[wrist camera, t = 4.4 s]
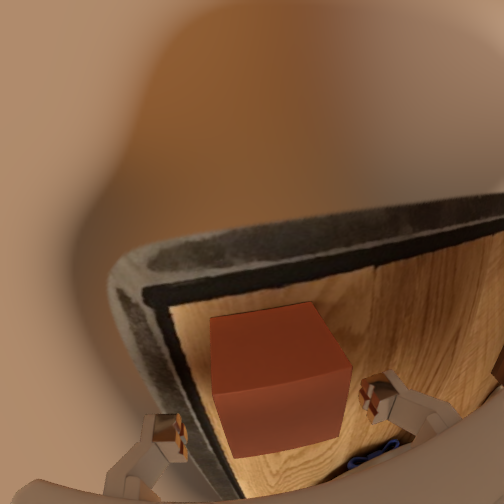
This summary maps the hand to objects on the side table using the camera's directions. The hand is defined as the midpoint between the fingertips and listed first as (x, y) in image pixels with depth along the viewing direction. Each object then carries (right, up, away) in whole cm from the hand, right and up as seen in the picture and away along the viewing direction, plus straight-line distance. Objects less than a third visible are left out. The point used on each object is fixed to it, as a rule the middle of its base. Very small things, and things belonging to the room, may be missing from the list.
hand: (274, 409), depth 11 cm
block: (0, +2, +4) cm, 4 cm away
